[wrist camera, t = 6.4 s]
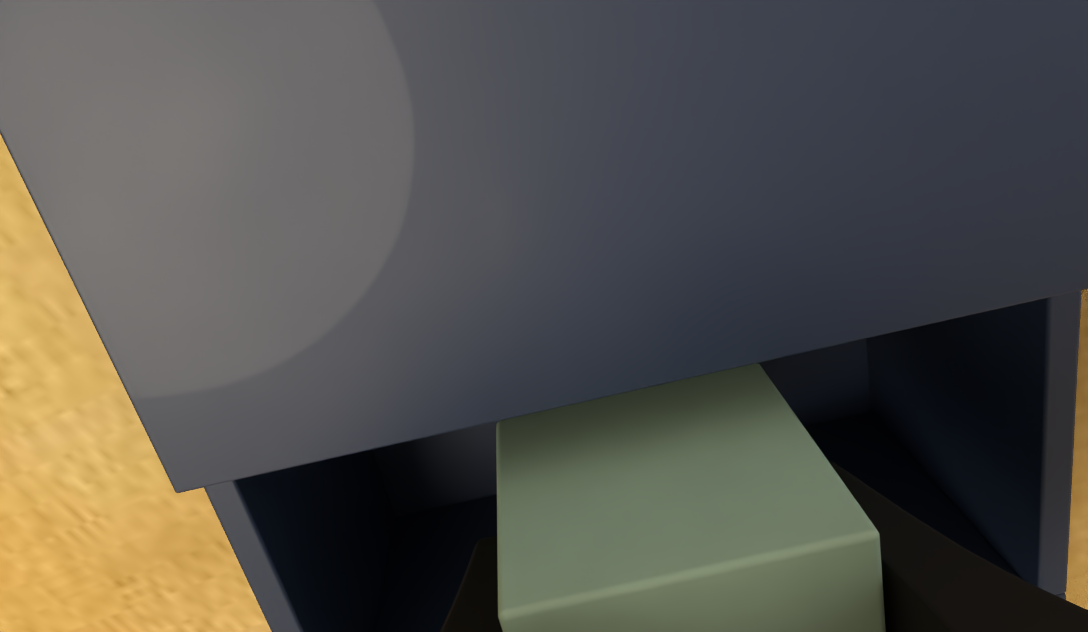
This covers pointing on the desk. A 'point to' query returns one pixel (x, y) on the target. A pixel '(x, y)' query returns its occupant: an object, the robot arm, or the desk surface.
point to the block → (680, 517)
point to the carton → (561, 250)
